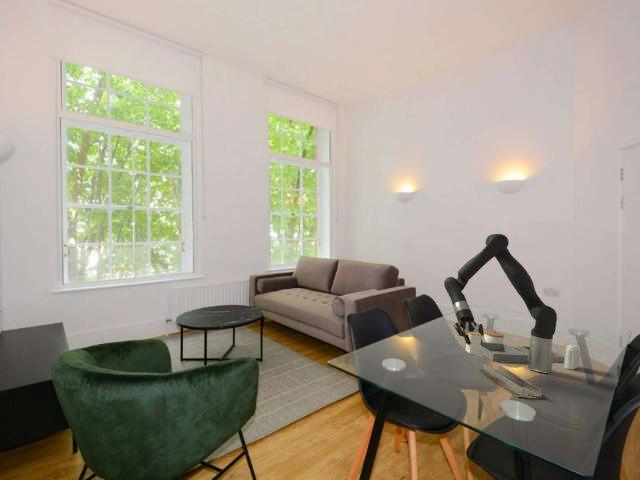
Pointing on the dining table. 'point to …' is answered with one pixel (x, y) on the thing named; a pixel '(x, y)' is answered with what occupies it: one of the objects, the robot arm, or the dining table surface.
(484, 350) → the large tray rim
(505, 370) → the rail board
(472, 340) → the block
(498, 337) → the lidded jar
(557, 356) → the small tray rim
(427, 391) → the dining table surface
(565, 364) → the white ridged block
